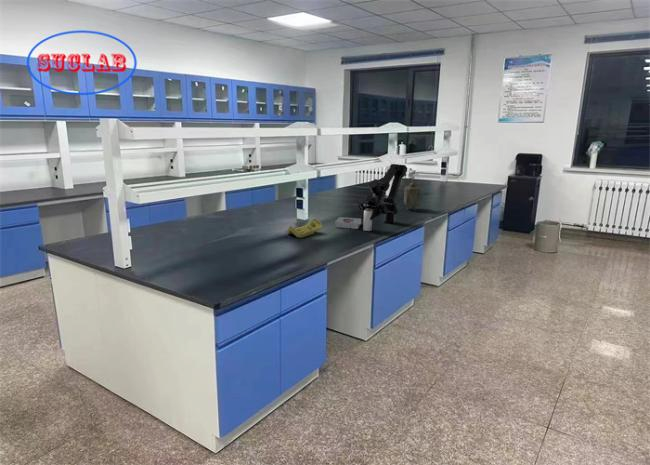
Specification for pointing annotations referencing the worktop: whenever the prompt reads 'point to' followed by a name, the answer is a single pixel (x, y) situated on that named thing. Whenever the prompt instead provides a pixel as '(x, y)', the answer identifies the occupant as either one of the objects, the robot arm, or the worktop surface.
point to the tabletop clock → (412, 195)
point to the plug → (367, 220)
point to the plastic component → (305, 229)
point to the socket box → (348, 223)
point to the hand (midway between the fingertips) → (366, 219)
